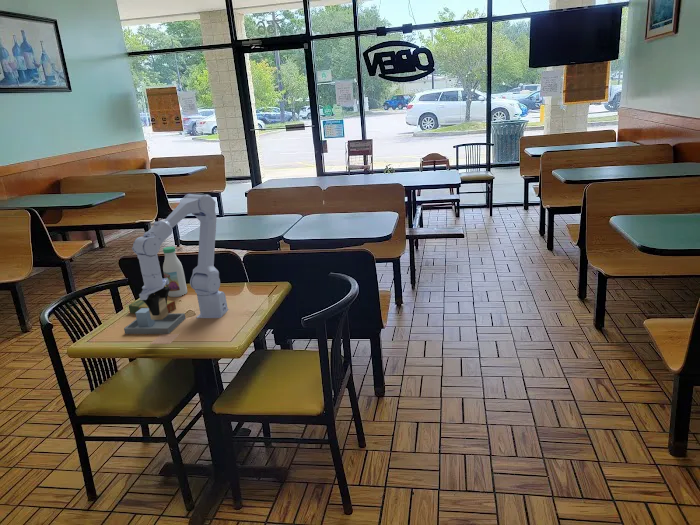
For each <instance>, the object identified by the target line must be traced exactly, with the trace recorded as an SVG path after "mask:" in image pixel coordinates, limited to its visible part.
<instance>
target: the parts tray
mask: <svg viewBox="0 0 700 525" xmlns="http://www.w3.org/2000/svg"><path fill="white" fill-rule="evenodd" d="M168 314H169V315H167V316H166V317H165V318H164V319H162V320H154V321H155V324H154V325H153V326H152V327H150V328H139V327H138V322H137V318H136V319H134V320H133V321H132V322H131V323H129V324H128V325H127V326H125V327H124V328H123V330H124V334H125V335H161V334H171V333H172V331H174V330H175V329H176V328H177V327H179V325H180V324H182V323H183V321H184V320H186V314H185V313H184V312H183V313H181V312H180V313H178V312H177V313H171V312H170V313H168Z"/></svg>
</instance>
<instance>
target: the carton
mask: <svg viewBox="0 0 700 525" xmlns="http://www.w3.org/2000/svg"><path fill="white" fill-rule="evenodd" d="M141 308H148V306H147V305H146V303H145V302H144V301H143V300H140V299H138V300H137V301H134V302H132V303H130V304H129V305H128V311H129V313H130V314H135V313H136V312H137V311H138V310H140V309H141ZM176 309H177V306H176V301H175V300H171V299H169V300H168V299H167V310H168V313H171V312H173V311H175V310H176Z"/></svg>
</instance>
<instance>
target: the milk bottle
mask: <svg viewBox="0 0 700 525" xmlns="http://www.w3.org/2000/svg"><path fill="white" fill-rule="evenodd" d="M162 252H163V255H164V260H163V261H164V262H163V264H162V270H163V277H164V278H168V280H169V284H168V285H165V287H169V288H170V290H169V293H168V297H170V298H179V297H183V296H185V295H186V294H187V293H188V288H187V283H186V276H185V271H184V268H183V265H182V262H181V261H180V259H179V258H178V257H177V254H176V248H175V246H165V247H164V248H163V249H162ZM184 294H185V295H184ZM182 295H183V296H182Z"/></svg>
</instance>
